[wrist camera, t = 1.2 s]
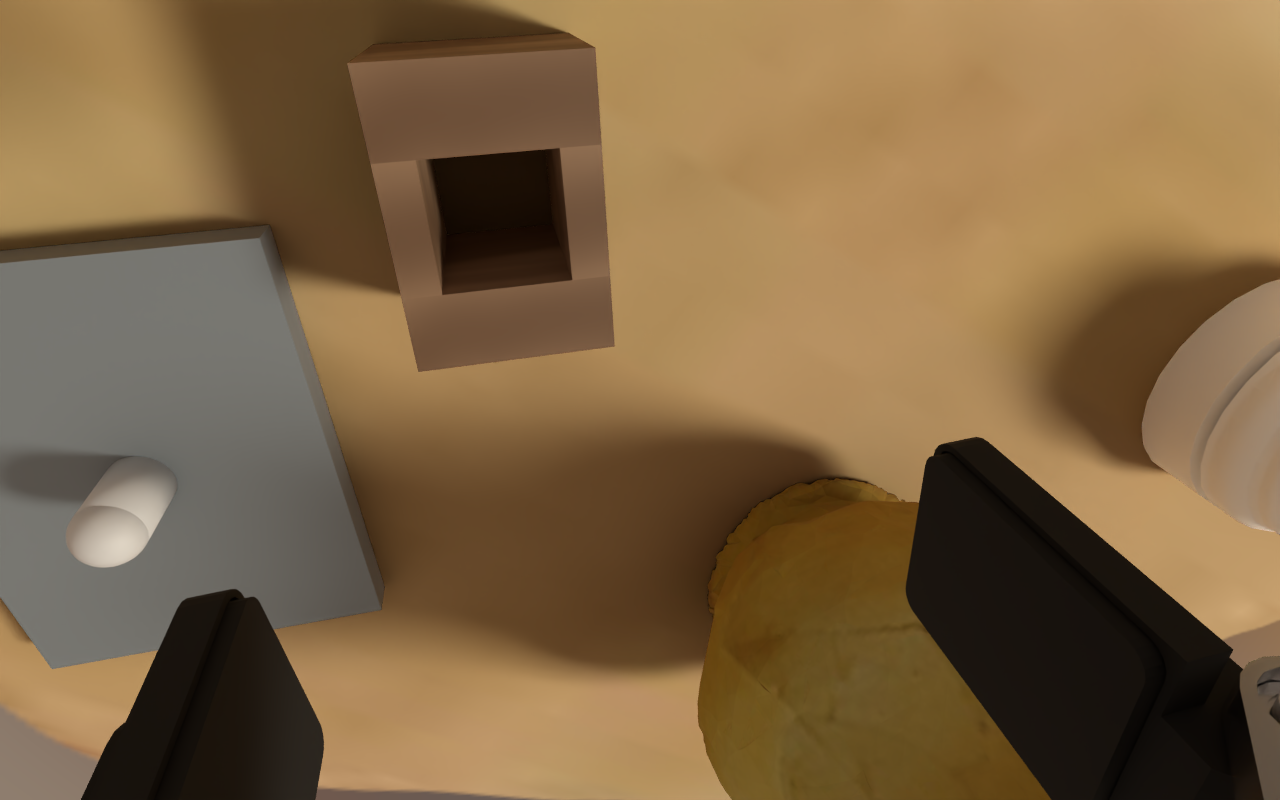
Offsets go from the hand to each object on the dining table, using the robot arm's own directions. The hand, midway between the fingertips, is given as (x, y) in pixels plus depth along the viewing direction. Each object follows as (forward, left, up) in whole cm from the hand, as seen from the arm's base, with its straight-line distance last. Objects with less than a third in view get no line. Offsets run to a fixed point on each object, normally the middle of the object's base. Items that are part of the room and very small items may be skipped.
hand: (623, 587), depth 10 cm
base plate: (+9, -16, -20) cm, 27 cm away
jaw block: (-1, -1, -20) cm, 20 cm away
